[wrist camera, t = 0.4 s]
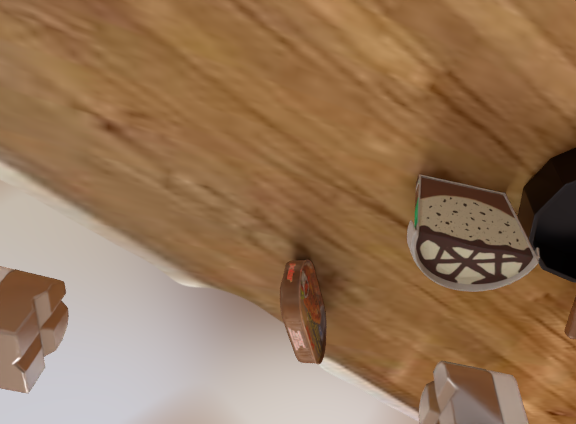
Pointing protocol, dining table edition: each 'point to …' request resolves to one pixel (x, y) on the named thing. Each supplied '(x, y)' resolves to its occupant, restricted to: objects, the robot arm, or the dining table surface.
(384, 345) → the dining table surface
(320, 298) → the tin
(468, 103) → the dining table surface
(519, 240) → the food container
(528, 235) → the pan
